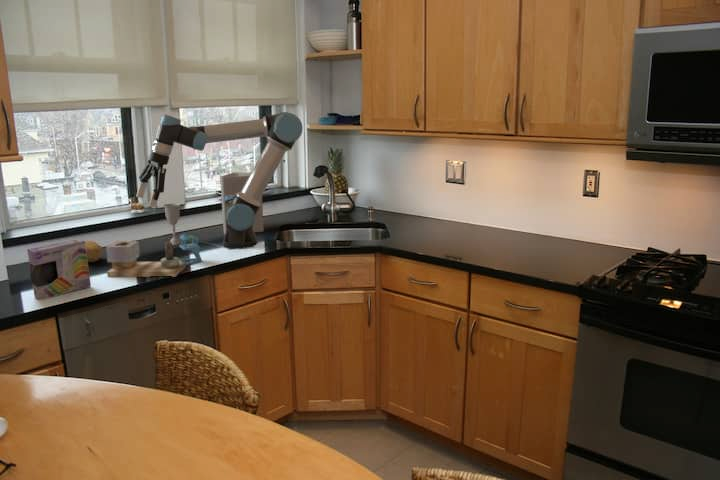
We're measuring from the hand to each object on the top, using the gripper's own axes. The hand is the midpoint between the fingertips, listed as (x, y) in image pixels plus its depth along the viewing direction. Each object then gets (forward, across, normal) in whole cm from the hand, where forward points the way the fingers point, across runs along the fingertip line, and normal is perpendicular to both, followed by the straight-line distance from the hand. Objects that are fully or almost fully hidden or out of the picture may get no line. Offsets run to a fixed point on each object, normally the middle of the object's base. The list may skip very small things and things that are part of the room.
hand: (145, 202), depth 257 cm
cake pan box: (+32, +28, -32) cm, 54 cm away
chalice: (+20, -14, +26) cm, 35 cm away
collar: (+21, +16, -9) cm, 27 cm away
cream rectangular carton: (+8, -18, +61) cm, 64 cm away
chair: (+17, +21, +17) cm, 31 cm away
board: (+22, +22, -1) cm, 31 cm away
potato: (+31, -7, -12) cm, 34 cm away
